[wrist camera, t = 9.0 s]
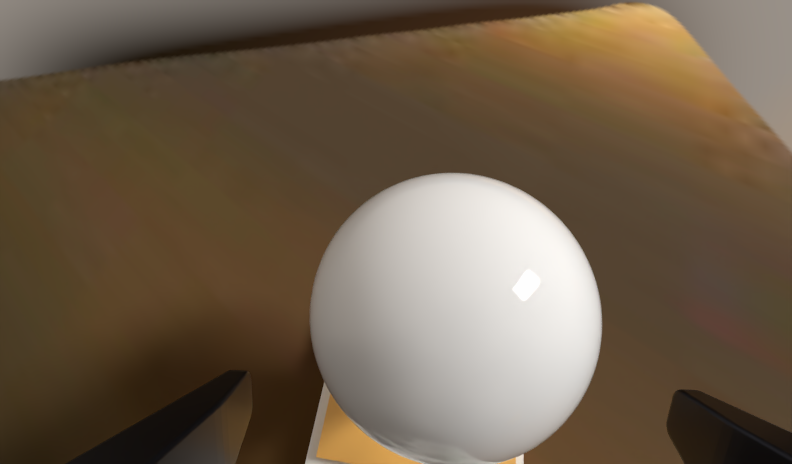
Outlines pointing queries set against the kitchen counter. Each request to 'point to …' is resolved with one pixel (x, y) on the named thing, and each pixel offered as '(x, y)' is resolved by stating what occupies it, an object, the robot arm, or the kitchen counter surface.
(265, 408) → the kitchen counter surface
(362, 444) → the control panel
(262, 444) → the kitchen counter surface
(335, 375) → the lightbulb
